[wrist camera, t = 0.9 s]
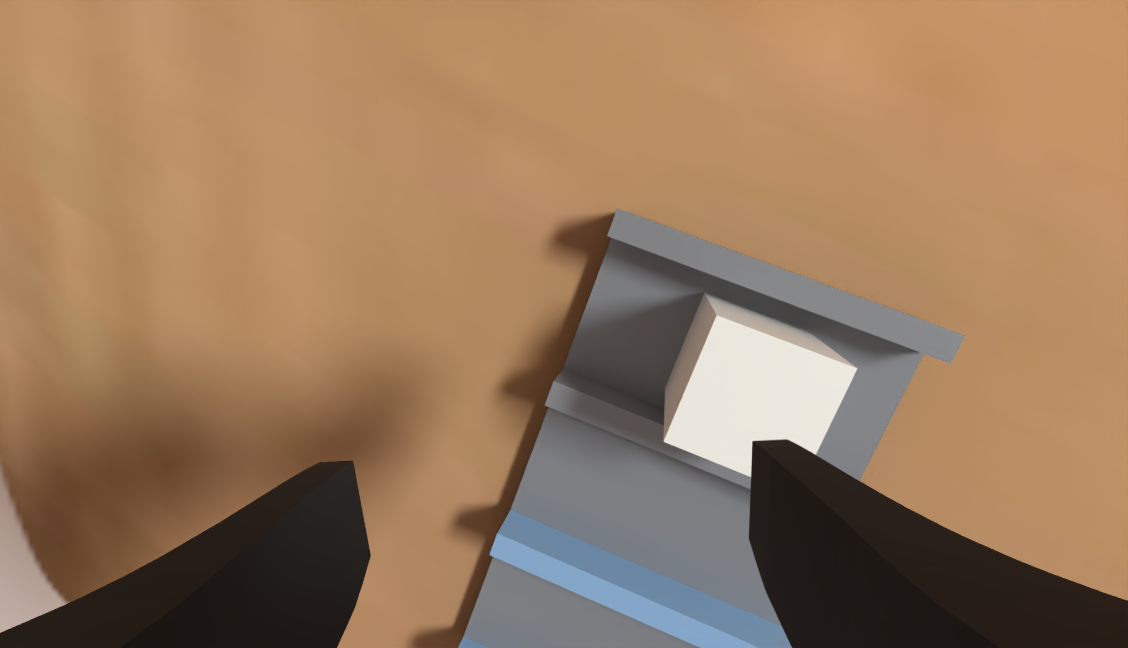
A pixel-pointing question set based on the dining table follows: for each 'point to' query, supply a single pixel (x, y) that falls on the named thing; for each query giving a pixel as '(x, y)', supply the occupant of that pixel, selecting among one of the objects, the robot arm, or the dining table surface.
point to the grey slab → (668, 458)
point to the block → (750, 385)
